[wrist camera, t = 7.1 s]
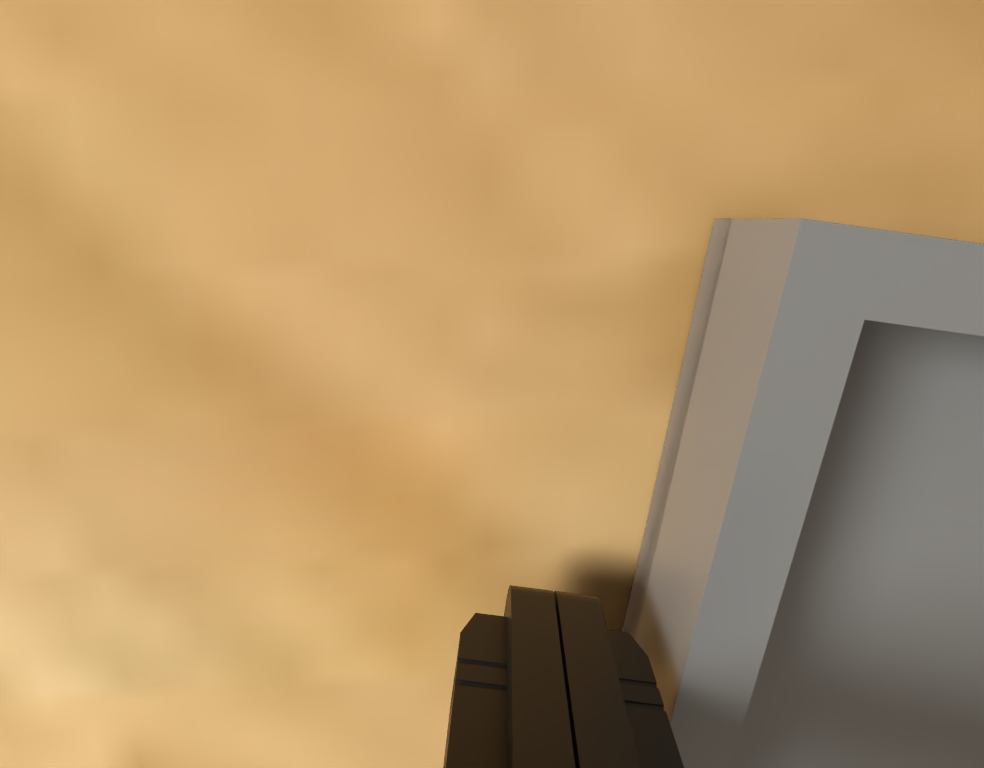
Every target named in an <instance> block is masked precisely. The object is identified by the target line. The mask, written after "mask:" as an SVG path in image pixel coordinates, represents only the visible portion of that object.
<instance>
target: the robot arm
mask: <svg viewBox="0 0 984 768" xmlns="http://www.w3.org/2000/svg"><path fill="white" fill-rule="evenodd" d="M443 768H684V766H683V763H682V760H681V756H680V753H679V750H678V747H677V744H676V741H675V738H674V735H673V732H672V729H671V725H670V722H669V719H668V716H667V713H666V711H664V704H663V701H662V697H661V694H660V691H659V688H657V682H656V679H655V676H654V673H653V670H652V666H651V663H650V660H649V657H648V655H647V654H646V653H645V652H644V651H643V649H642V648H641V647H640V646H639V645H638V643H637V642H636V641H635V640H634V638H633V637H632V636H631V635H630V634H629V632H622V631H614V630H607V627H606V623H605V619H604V615H603V611H602V607H601V603H600V599H599V598H598V597H597V596H590V595H582V594H574V593H566V592H559V591H554V593H553V591H550V590H542V589H534V588H526V587H519V586H511V585H510V586H509V589H508V594H507V600H506V606H505V613H504V617H503V616H495V615H488V614H480V613H475V615H474V616H473V617H472V618H471V620H470V621H469V622H468V624H467V625H466V626H465V627H464V629H463V630H462V631H461V633H460V641H459V648H458V655H457V662H456V670H455V677H454V684H453V692H452V699H451V706H450V714H449V723H448V731H447V741H446V749H445V757H444V766H443Z"/></svg>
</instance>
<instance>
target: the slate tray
mask: <svg viewBox="0 0 984 768" xmlns="http://www.w3.org/2000/svg"><path fill="white" fill-rule="evenodd" d="M622 632H629V634H630V635H631V636H632V637H633V638H634V640H635V641H636V642H637V643H638V645H639V646H640V647H641V648H642V649H643V651H644V652H645V653H646V654H647V655H648V657H649V660H650V663H651V666H652V670H653V673H654V676H655V679H656V682H657V688H659V691H660V694H661V697H662V701H663V704H664V711H666V713H667V716H668V719H669V722H670V725H671V729H672V732H673V735H674V738H675V741H676V744H677V747H678V750H679V753H680V756H681V760H682V763H683V766H684V768H984V244H980V243H973V242H966V241H959V240H952V239H945V238H937V237H930V236H923V235H916V234H909V233H902V232H895V231H887V230H880V229H873V228H866V227H859V226H852V225H845V224H837V223H830V222H823V221H816V220H809V219H739V218H715V219H714V223H713V228H712V232H711V237H710V241H709V246H708V250H707V255H706V259H705V264H704V268H703V273H702V277H701V281H700V286H699V290H698V295H697V299H696V304H695V308H694V313H693V317H692V322H691V326H690V331H689V335H688V339H687V344H686V348H685V353H684V357H683V362H682V366H681V371H680V375H679V380H678V384H677V389H676V393H675V397H674V402H673V406H672V411H671V415H670V420H669V424H668V429H667V433H666V438H665V442H664V447H663V451H662V455H661V460H660V464H659V469H658V473H657V478H656V482H655V487H654V491H653V496H652V500H651V505H650V509H649V514H648V518H647V522H646V527H645V531H644V536H643V540H642V545H641V549H640V554H639V558H638V563H637V567H636V572H635V576H634V580H633V585H632V589H631V594H630V598H629V603H628V607H627V612H626V616H625V621H624V625H623V630H622Z"/></svg>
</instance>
